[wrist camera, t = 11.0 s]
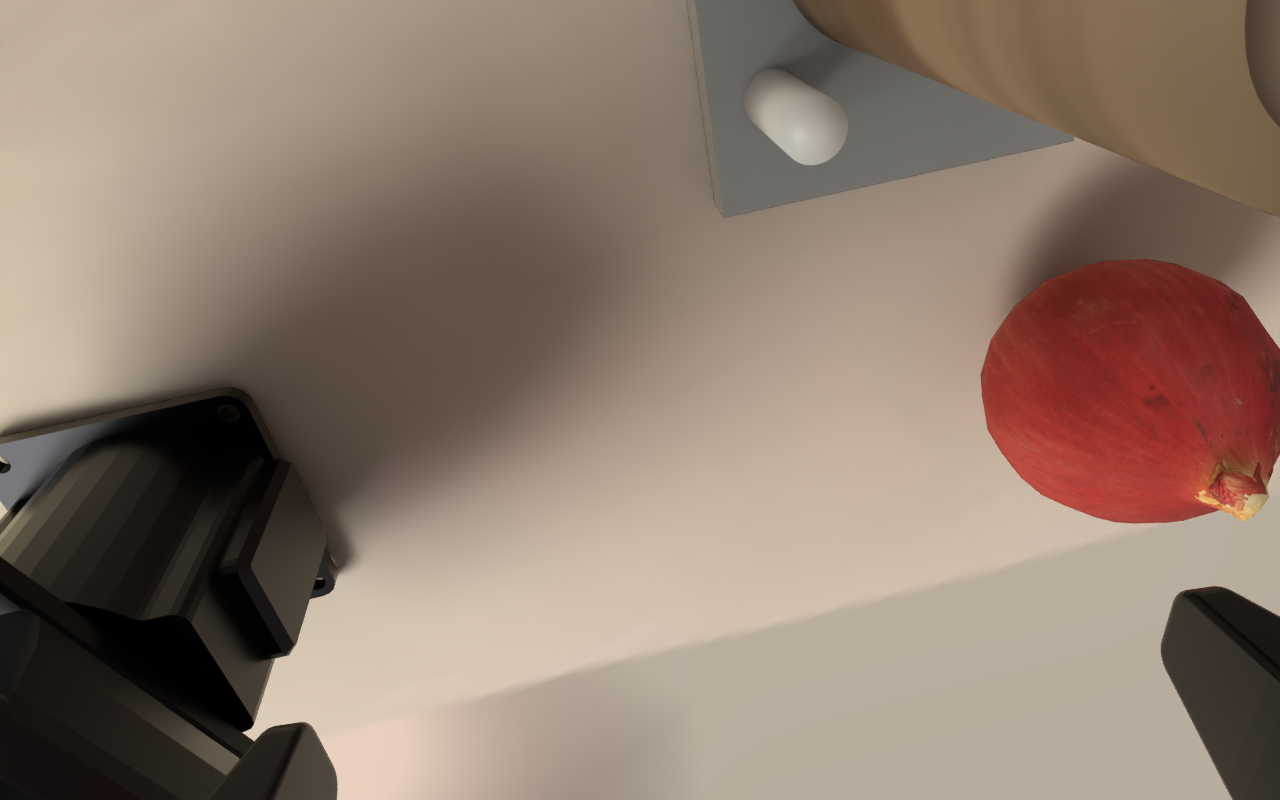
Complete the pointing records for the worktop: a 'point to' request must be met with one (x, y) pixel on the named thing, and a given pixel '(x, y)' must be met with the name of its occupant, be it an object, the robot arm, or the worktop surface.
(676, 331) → the worktop surface
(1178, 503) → the pomegranate
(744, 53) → the pin tray
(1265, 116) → the pepper mill
